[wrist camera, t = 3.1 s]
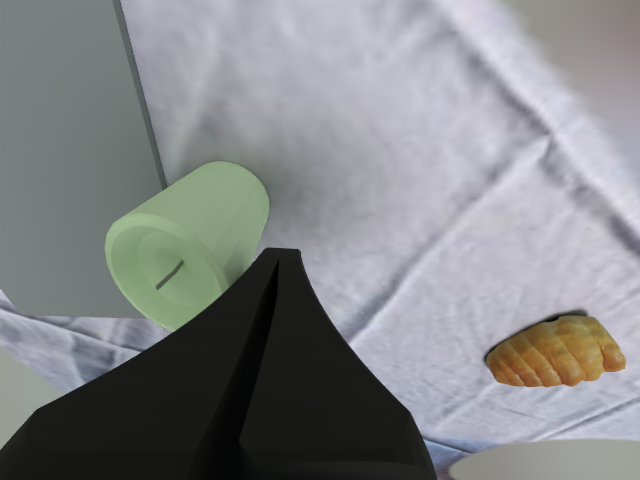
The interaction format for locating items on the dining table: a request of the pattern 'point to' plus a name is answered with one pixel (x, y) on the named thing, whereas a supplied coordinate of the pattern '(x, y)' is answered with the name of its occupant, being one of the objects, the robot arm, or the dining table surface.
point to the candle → (188, 242)
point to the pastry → (556, 354)
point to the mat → (69, 154)
